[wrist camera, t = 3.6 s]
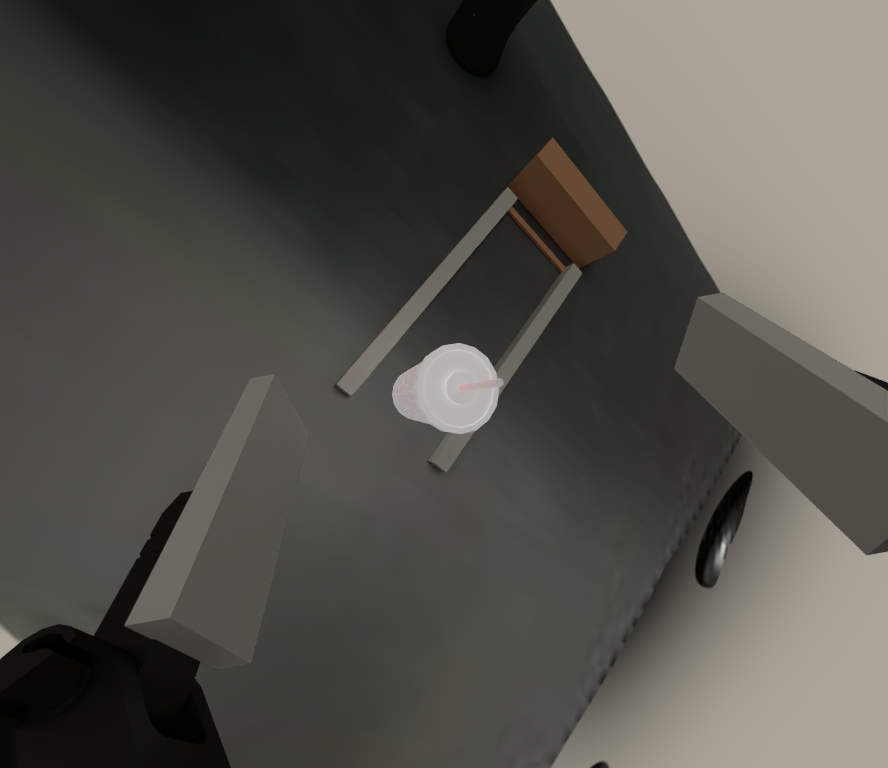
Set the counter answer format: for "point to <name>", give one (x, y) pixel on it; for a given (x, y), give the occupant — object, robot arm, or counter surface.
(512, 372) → the channel
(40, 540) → the counter surface
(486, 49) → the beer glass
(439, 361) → the beverage cup
